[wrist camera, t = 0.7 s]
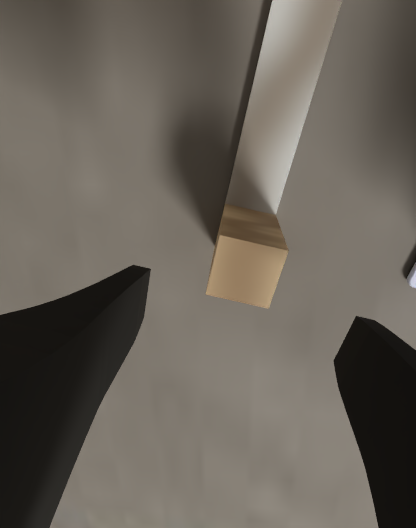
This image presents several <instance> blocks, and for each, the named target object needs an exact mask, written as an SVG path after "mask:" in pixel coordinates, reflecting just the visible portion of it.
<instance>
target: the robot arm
mask: <svg viewBox="0 0 416 528" xmlns="http://www.w3.org/2000/svg"><path fill="white" fill-rule="evenodd" d="M150 270H151V269H149V268H144V267H140V266H136V265H132V266H130V267H128V268H126V269H124V270H122V271H120V272H118V273H116V274H114V275H112V276H110V277H108V278H106V279H104V280H102V281H100V282H98V283H96V284H93V285H91V286H89V287H86V288H84V289H82V290H79V291H77V292H75V293H72V294H70V295H67V296H65V297H62V298H59V299H56V300H54V301H50V302H47V303H44V304H41V305H38V306H34V307H31V308H27V309H23V310H19V311H15V312H11V313H7V314H3V315H0V528H49V527H50V525H51V522H52V519H53V517H54V514H55V512H56V509H57V507H58V504H59V502H60V499H61V497H62V494H63V492H64V489H65V487H66V484H67V482H68V479H69V477H70V474H71V472H72V469H73V467H74V464H75V462H76V460H77V457H78V455H79V452H80V450H81V448H82V445H83V443H84V440H85V438H86V436H87V433H88V431H89V429H90V426H91V424H92V422H93V419H94V417H95V415H96V412H97V410H98V408H99V406H100V404H101V402H102V400H103V398H104V396H105V394H106V392H107V390H108V389H109V387H110V385H111V383H112V381H113V380H114V378H115V376H116V374H117V372H118V371H119V369H120V367H121V365H122V363H123V362H124V360H125V358H126V356H127V354H128V352H129V351H130V349H131V347H132V345H133V343H134V341H135V339H136V336H137V334H138V331H139V329H140V326H141V324H142V321H143V318H144V313H145V306H146V299H147V292H148V285H149V277H150ZM407 282H408V284H409V285H410V286H411V287H414V288H416V262H415V264H414V266H413V268H412V270H411V272H410V273H409V275H408V277H407ZM334 366H335V372H336V378H337V383H338V388H339V391H340V394H341V397H342V400H343V403H344V406H345V409H346V412H347V415H348V418H349V421H350V424H351V426H352V429H353V432H354V435H355V438H356V441H357V444H358V447H359V450H360V452H361V456H362V459H363V462H364V466H365V469H366V473H367V477H368V481H369V486H370V490H371V494H372V498H373V503H374V507H375V512H376V517H377V522H378V527H379V528H416V350H415V349H413V348H412V347H411V346H409V345H408V344H407V343H405V342H404V341H403V340H402V339H400V338H399V337H398V336H396V335H395V334H394V333H392V332H391V331H390V330H388V329H387V328H385V327H384V326H383V325H381V324H380V323H378V322H376V321H375V320H372V319H367V318H363V317H358V316H356V317H355V319H354V321H353V323H352V325H351V327H350V329H349V331H348V333H347V335H346V337H345V339H344V341H343V343H342V345H341V347H340V349H339V351H338V353H337V355H336V357H335V359H334Z"/></svg>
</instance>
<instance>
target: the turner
mask: <svg viewBox="0 0 416 528" xmlns="http://www.w3.org/2000/svg"><path fill="white" fill-rule="evenodd" d="M341 3H342V1H341V0H272V4H271V8H270V13H269V17H268V21H267V25H266V30H265V34H264V38H263V43H262V47H261V51H260V55H259V60H258V64H257V68H256V73H255V77H254V81H253V85H252V90H251V94H250V98H249V103H248V107H247V111H246V115H245V120H244V124H243V128H242V133H241V137H240V141H239V145H238V150H237V154H236V158H235V163H234V167H233V171H232V175H231V180H230V184H229V188H228V193H227V197H226V201H225V205H224V210H223V214H222V218H221V223H220V227H219V231H218V236H217V240H216V244H215V249H214V254H213V259H212V264H211V269H210V275H209V280H208V285H207V290H206V295H211V296H215V297H220V298H224V299H228V300H233V301H237V302H242V303H246V304H251V305H255V306H259V307H264V308H268V309H269V306H270V303H271V300H272V297H273V294H274V291H275V289H276V286H277V283H278V280H279V277H280V274H281V271H282V268H283V266H284V263H285V260H286V257H287V254H288V251H289V250H288V248H287V245H286V242H285V239H284V237H283V234H282V231H281V228H280V226H279V223H278V220H277V218H276V212H277V209H278V206H279V202H280V199H281V196H282V193H283V189H284V186H285V183H286V180H287V177H288V173H289V170H290V167H291V164H292V161H293V157H294V154H295V151H296V148H297V144H298V141H299V138H300V135H301V132H302V128H303V125H304V122H305V119H306V115H307V112H308V109H309V106H310V103H311V99H312V96H313V93H314V90H315V86H316V83H317V80H318V77H319V74H320V70H321V67H322V64H323V61H324V58H325V54H326V51H327V48H328V45H329V41H330V38H331V35H332V32H333V29H334V25H335V22H336V19H337V16H338V12H339V9H340V6H341Z"/></svg>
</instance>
